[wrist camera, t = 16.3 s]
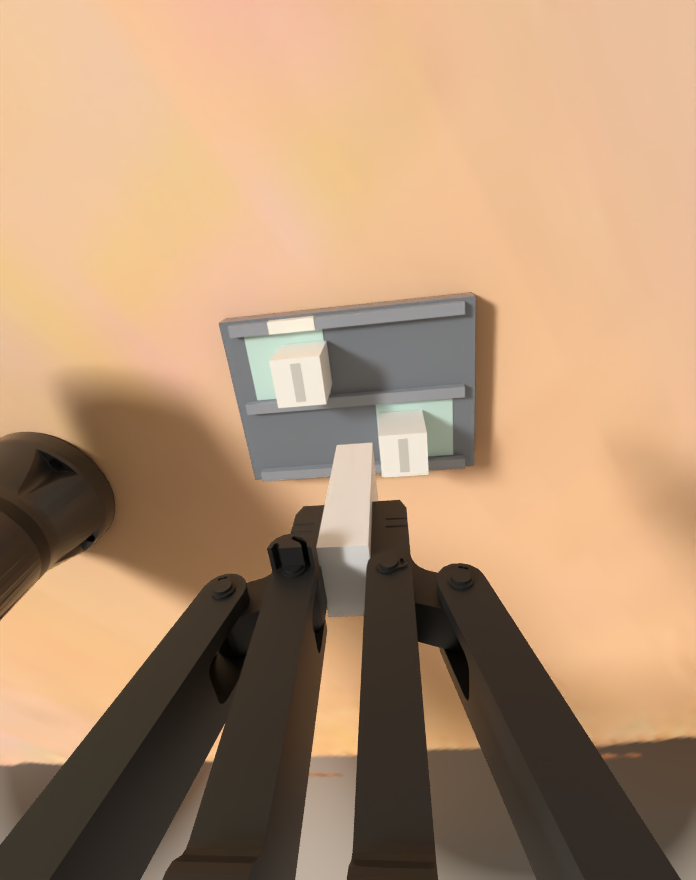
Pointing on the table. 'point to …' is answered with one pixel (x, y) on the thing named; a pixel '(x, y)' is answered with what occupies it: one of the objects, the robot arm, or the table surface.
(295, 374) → the tab
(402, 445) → the tab
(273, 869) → the robot arm
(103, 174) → the table surface
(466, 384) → the switch board
